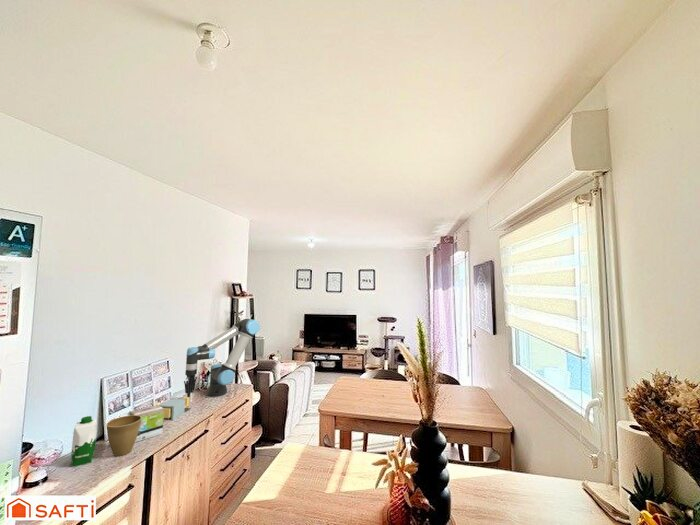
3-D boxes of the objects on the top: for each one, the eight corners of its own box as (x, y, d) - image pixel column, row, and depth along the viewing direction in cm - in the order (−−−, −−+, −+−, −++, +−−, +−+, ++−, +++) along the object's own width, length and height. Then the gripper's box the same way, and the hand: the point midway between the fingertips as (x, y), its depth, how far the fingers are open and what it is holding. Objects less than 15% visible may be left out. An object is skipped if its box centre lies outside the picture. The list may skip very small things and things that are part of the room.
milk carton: (94, 455, 158) (98, 414, 160) (93, 463, 150) (96, 420, 152) (71, 460, 153) (75, 418, 154) (69, 469, 145) (73, 424, 147)
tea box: (133, 443, 170) (135, 415, 171) (126, 438, 176) (128, 411, 177) (163, 434, 181) (164, 407, 183) (156, 429, 188) (157, 403, 189)
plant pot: (144, 444, 169) (146, 414, 170) (130, 459, 154) (132, 425, 156) (114, 446, 166) (117, 415, 168) (96, 461, 152) (99, 427, 153)
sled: (183, 405, 224) (184, 396, 225) (190, 405, 224) (191, 396, 224) (160, 419, 200) (161, 408, 200) (168, 419, 199) (169, 409, 200)
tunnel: (180, 406, 224) (181, 393, 225) (194, 406, 224) (194, 393, 225) (147, 425, 192) (148, 410, 192) (163, 426, 191) (164, 411, 192)
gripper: (191, 366, 236) (189, 398, 234) (181, 371, 223) (178, 405, 221) (201, 367, 235) (199, 399, 233) (191, 371, 222) (188, 405, 220)
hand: (189, 402), depth 227 cm, fingers closed
